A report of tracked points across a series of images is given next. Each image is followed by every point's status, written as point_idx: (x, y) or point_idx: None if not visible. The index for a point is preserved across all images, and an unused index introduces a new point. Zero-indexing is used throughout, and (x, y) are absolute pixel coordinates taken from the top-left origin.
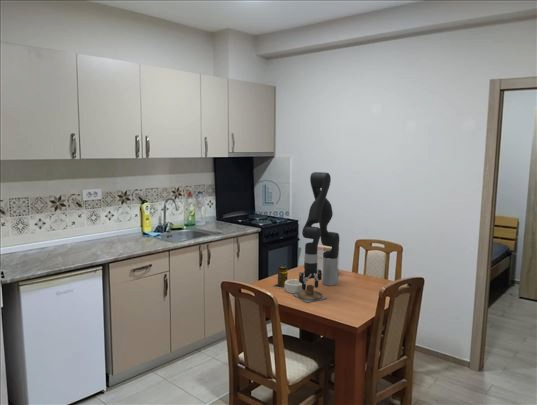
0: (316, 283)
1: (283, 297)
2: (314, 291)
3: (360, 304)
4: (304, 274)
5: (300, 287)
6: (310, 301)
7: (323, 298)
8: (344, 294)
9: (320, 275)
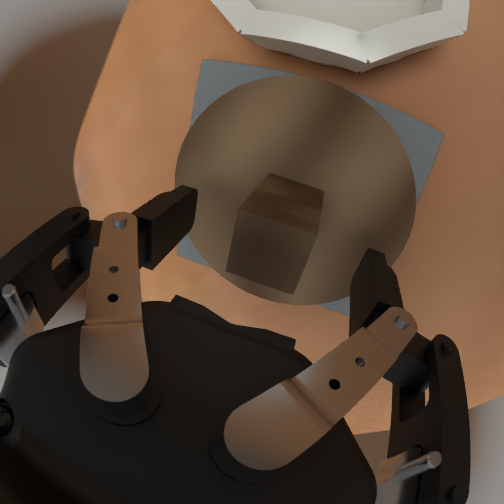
0: (354, 315)
1: (123, 62)
2: (393, 196)
3: (371, 415)
4: (50, 336)
5: (301, 49)
6: (206, 264)
7: (325, 305)
8: (483, 337)
9: (399, 440)
